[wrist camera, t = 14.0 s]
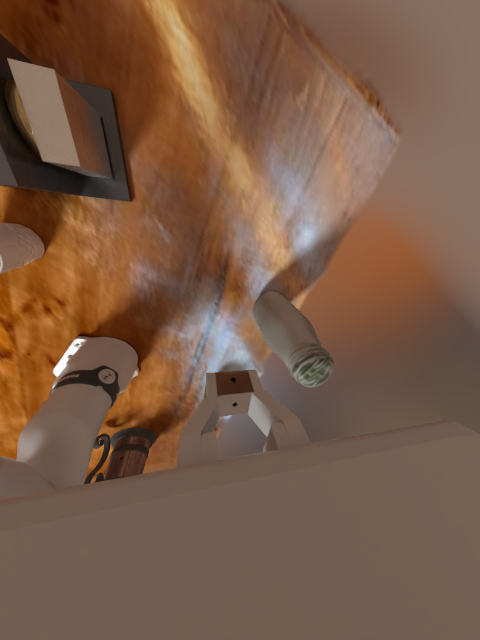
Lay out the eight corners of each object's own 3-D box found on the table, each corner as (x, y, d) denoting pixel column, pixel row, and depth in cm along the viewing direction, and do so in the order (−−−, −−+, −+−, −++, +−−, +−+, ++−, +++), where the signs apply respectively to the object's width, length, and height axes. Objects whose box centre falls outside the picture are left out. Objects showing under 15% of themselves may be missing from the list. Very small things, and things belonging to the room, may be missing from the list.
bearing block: (113, 93, 27) (47, 3, 16) (131, 201, 34) (95, 195, 23) (-49, 56, 23) (-302, -103, 12) (9, 187, 30) (-113, 170, 19)
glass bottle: (260, 281, 48) (318, 346, 24) (288, 295, 52) (363, 363, 28) (242, 311, 52) (278, 393, 28) (271, 322, 55) (323, 402, 32)
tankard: (165, 437, 76) (155, 501, 59) (135, 454, 78) (117, 520, 62) (119, 415, 64) (90, 487, 47) (84, 435, 66) (44, 512, 49)
